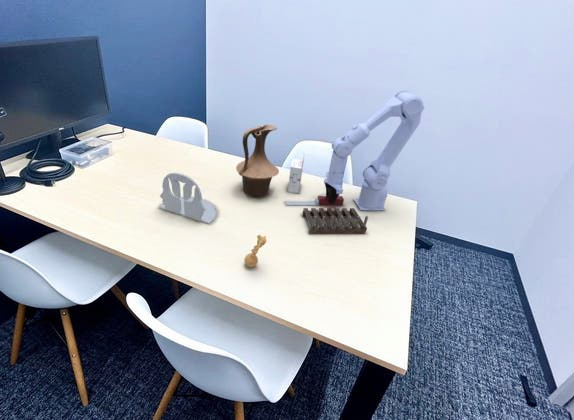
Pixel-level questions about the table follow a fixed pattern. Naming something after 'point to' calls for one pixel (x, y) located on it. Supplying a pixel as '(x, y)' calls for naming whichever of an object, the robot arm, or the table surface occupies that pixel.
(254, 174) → the pitcher
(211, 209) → the ornament
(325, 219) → the drying rack
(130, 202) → the table surface
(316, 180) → the table surface
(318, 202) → the knife
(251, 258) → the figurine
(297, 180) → the ink cartridge box
